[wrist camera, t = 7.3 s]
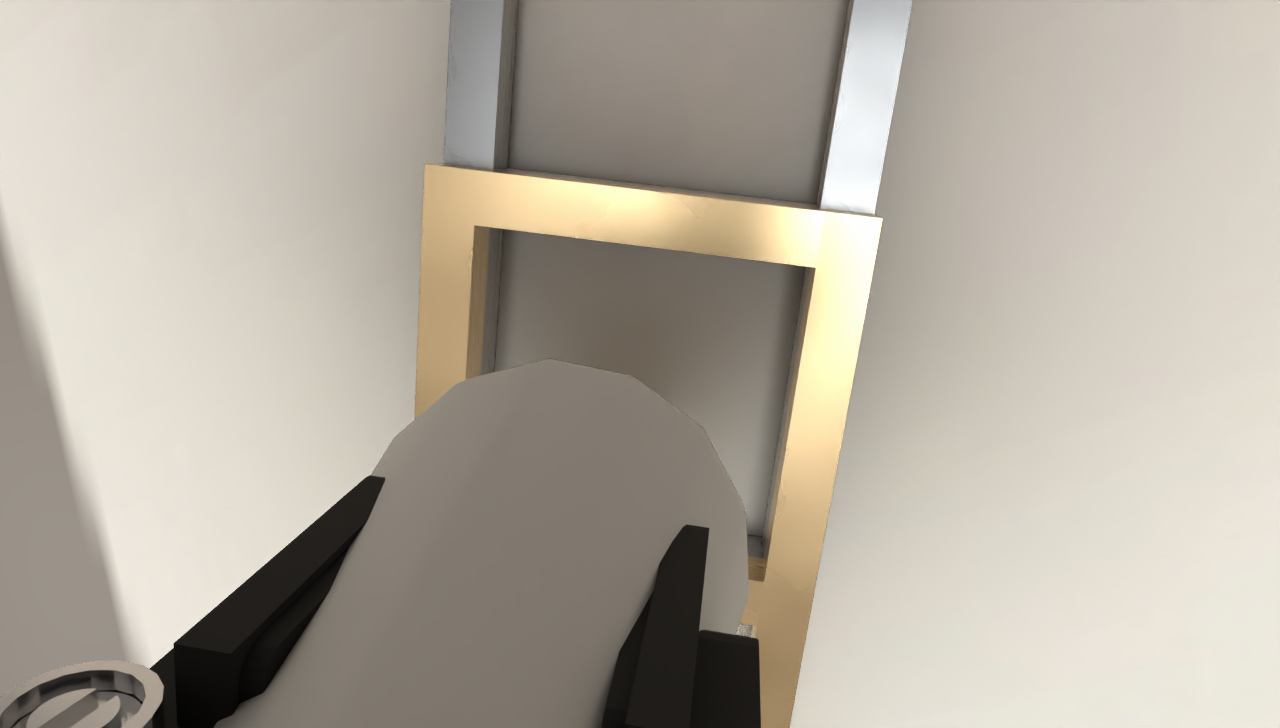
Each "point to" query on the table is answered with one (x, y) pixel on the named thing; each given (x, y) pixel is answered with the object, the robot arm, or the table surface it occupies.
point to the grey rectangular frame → (845, 184)
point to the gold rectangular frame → (698, 224)
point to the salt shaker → (511, 559)
